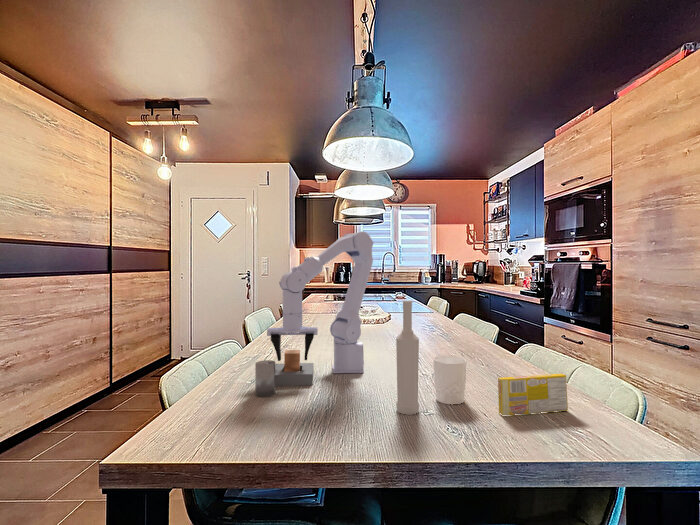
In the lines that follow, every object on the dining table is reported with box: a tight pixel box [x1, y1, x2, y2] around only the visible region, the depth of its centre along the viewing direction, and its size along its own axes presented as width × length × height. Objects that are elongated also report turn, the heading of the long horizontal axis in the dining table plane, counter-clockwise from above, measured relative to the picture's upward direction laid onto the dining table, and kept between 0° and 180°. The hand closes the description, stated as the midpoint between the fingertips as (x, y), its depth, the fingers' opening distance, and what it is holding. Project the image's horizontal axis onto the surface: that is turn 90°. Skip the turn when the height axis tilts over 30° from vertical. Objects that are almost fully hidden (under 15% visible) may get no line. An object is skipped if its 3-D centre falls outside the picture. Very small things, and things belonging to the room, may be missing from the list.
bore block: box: [275, 362, 314, 387], centre depth 107 cm, size 12×12×3 cm
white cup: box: [432, 355, 467, 406], centre depth 90 cm, size 8×8×10 cm
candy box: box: [497, 373, 569, 415], centre depth 82 cm, size 16×2×8 cm, turn 100°
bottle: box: [395, 299, 420, 416], centre depth 83 cm, size 5×5×25 cm
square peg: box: [283, 349, 301, 372], centre depth 107 cm, size 4×4×8 cm
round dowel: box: [254, 359, 276, 398], centre depth 95 cm, size 5×5×8 cm
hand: (292, 359), depth 107 cm, fingers open, 7 cm apart
